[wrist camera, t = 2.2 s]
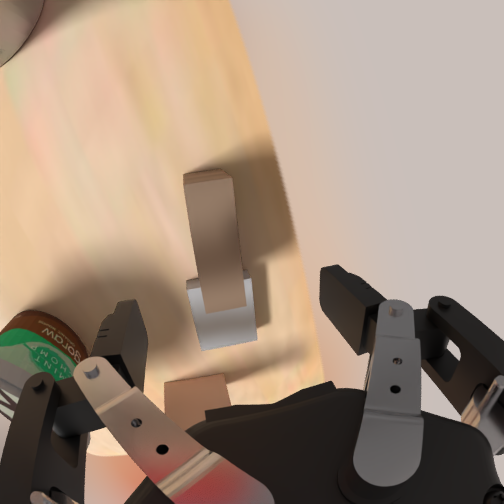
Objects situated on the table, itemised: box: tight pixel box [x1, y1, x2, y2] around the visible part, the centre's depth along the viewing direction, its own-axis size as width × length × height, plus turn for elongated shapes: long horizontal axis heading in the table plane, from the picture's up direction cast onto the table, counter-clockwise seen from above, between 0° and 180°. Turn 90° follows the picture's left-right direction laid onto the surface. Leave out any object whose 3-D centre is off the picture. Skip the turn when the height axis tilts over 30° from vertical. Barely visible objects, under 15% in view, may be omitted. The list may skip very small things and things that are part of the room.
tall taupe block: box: [183, 169, 257, 351], centre depth 20 cm, size 14×5×5 cm, turn 6°
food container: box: [0, 310, 90, 448], centre depth 16 cm, size 12×6×10 cm, turn 48°
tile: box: [164, 373, 231, 431], centre depth 23 cm, size 2×6×8 cm, turn 95°
